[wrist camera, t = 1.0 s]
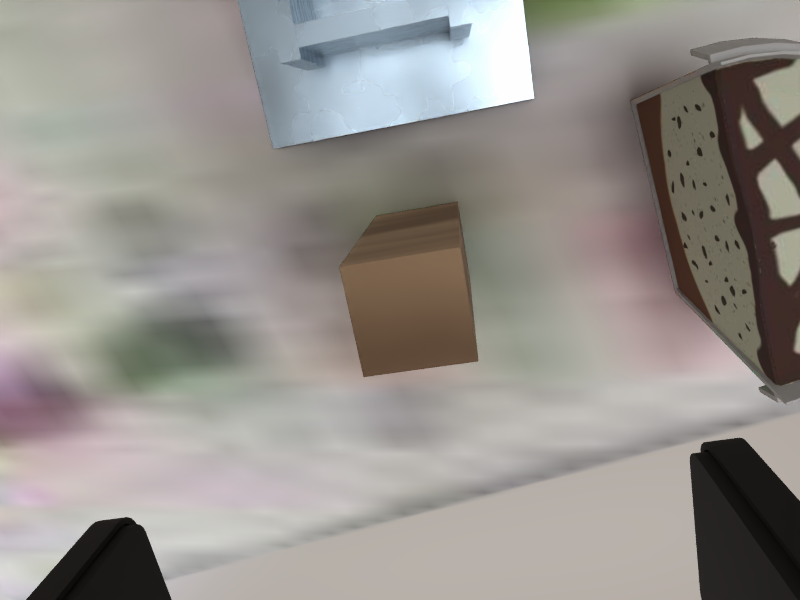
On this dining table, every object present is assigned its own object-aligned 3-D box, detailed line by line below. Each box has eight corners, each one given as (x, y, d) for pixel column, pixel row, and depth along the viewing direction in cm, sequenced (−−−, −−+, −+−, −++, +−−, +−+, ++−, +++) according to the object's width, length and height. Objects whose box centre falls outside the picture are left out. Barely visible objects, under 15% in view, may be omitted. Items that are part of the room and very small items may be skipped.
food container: (814, 282, 29) (994, 368, 19) (681, 319, 30) (789, 418, 20) (769, 14, 25) (958, -43, 16) (622, 67, 26) (717, 43, 17)
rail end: (376, 215, 29) (339, 266, 20) (457, 201, 29) (459, 247, 19) (391, 293, 30) (363, 376, 21) (470, 281, 30) (478, 361, 20)
